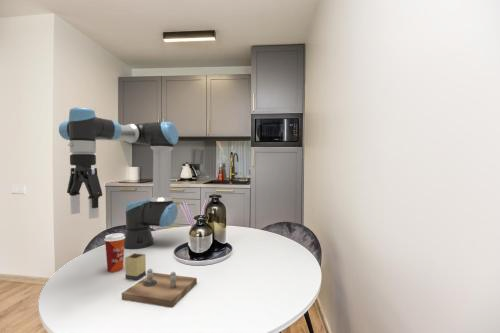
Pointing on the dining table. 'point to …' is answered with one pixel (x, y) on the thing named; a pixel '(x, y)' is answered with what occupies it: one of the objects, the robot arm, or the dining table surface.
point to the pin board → (160, 289)
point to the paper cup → (114, 251)
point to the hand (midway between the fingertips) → (84, 215)
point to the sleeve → (135, 266)
